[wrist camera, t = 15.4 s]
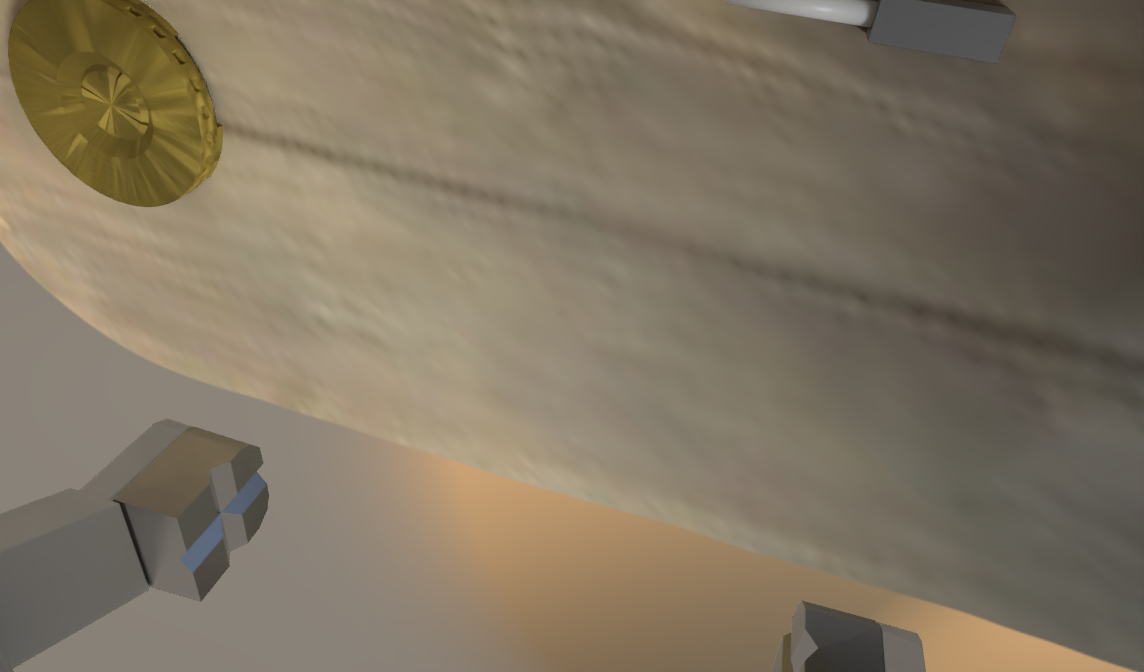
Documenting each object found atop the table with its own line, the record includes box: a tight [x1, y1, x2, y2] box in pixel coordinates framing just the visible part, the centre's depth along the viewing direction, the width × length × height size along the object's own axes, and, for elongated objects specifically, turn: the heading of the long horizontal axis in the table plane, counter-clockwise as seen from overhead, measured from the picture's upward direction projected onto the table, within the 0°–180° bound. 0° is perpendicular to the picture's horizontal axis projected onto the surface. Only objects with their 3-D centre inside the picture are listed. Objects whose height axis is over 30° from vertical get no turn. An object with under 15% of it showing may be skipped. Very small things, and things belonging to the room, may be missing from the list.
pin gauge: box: [726, 0, 1016, 64], centre depth 31 cm, size 11×2×2 cm, turn 84°
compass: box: [8, 0, 223, 207], centre depth 44 cm, size 12×12×2 cm
